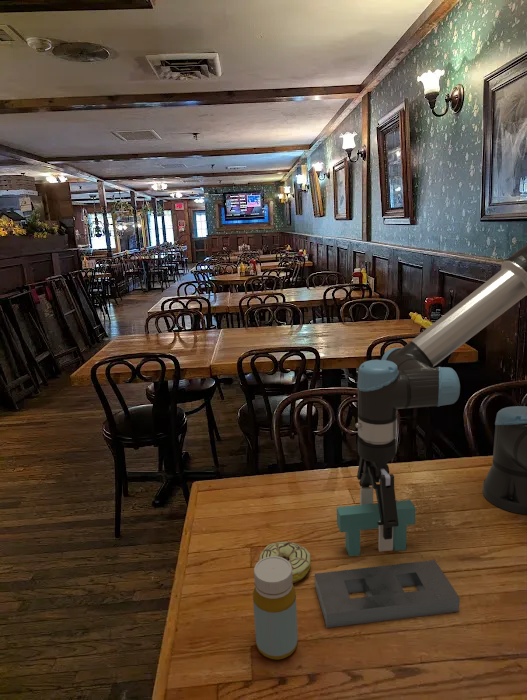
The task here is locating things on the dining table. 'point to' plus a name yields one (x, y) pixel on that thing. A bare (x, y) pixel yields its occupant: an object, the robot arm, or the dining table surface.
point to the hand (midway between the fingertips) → (375, 530)
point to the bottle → (275, 608)
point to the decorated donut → (290, 557)
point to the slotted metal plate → (385, 593)
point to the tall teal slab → (373, 523)
